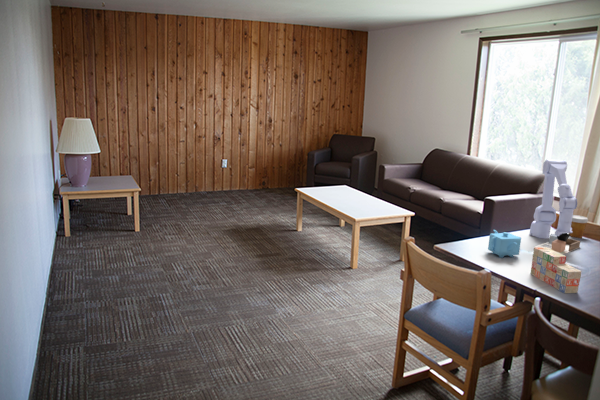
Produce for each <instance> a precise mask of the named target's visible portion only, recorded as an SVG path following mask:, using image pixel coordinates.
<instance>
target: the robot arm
mask: <svg viewBox="0 0 600 400" xmlns="http://www.w3.org/2000/svg"><path fill="white" fill-rule="evenodd" d="M567 169H568V163H567V161H566V160H565V159H563V160H562V159H548V158H547V159H545V161H544V162H543V164H542V175H544V181H543V188H542V197H541V205H539V206H537V207H535V211H534V213H533V219H534V220H533V221H532V222H531V224H530V229H529V234H528V235H529V236H533V237H536V238H537V239H549V237H550V235H551V229H552V228H551V227H552V225H554V223H555V222H556V220H557V210H556V208H554V207H553V196H554V190H555V189H554V188H555V181H557V183H558V184H557V185H558V187H557V193H558V195H559V201H558V211H559V214H558V215H559V217H558V222H557V228H556V230H555V231H554V234H555V235H556V236H557V238H558V240H561V241H565V242H566V240H567V239H568V238H569V237H571V236H570V234H569V233H573V231H572V228H571V223H572V217H573V215H574V210H576V209H577V207H578V199H577V197H575V195H573V192H572V188H571V185H569V184H568V183H567V177H566V175H567V174H566V171H567ZM569 239H570V238H569Z"/></svg>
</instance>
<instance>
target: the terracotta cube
mask: <svg viewBox="0 0 600 400" xmlns="http://www.w3.org/2000/svg"><path fill="white" fill-rule="evenodd" d="M565 246H566V242H565V241H561V240H557V239H556V240H555V241H553V242H552V246H551V247H550V248H551V250H553V251H556V252H560V253H561V252H563V251H564V250H565Z"/></svg>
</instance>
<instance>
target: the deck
mask: <svg viewBox="0 0 600 400" xmlns="http://www.w3.org/2000/svg"><path fill="white" fill-rule="evenodd" d="M544 245H546V246H549V247H548V248H549V249H551V248H552V243H549V241H546V242H543V243H540V244H538V245H535V246H534V248H538V247H540V248H541V247H545V246H544ZM580 248H581V246H580V247H579V248H576V249H574V250H571V251H569V245H568V244H566V246H565V250H564V251H563V252H561V253H560V252H558V253H560V254H562V255H565V254H567V253H571V252H573V251H575V250H577V249H580Z"/></svg>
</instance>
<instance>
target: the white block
mask: <svg viewBox="0 0 600 400" xmlns="http://www.w3.org/2000/svg"><path fill="white" fill-rule="evenodd" d="M556 239H557V240H558V238H557V236H556V235H555V233H550V235H549V238H548V242H549V243H552V242H553V241H555V240H556Z"/></svg>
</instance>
